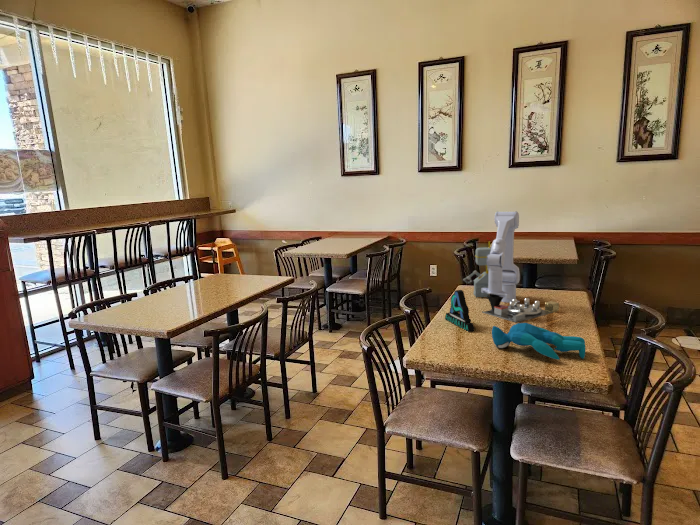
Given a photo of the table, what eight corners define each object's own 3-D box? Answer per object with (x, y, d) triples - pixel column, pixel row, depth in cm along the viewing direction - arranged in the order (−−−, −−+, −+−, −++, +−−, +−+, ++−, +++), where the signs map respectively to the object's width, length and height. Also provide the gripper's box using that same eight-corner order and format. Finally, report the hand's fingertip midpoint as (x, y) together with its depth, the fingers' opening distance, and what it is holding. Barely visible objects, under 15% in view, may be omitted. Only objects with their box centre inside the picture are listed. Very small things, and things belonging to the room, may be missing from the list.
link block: (544, 311, 203) (545, 302, 202) (550, 309, 205) (551, 300, 204) (552, 313, 199) (552, 304, 199) (558, 311, 201) (558, 302, 201)
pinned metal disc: (500, 310, 204) (500, 301, 203) (522, 304, 211) (522, 296, 210) (526, 317, 192) (526, 308, 191) (548, 311, 199) (549, 302, 198)
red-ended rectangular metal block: (494, 315, 198) (494, 306, 197) (500, 313, 200) (500, 304, 199) (501, 317, 194) (501, 308, 194) (508, 315, 196) (508, 306, 195)
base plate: (481, 314, 203) (481, 306, 202) (518, 305, 214) (518, 298, 213) (516, 324, 186) (516, 316, 186) (553, 314, 197) (553, 306, 197)
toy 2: (582, 350, 161) (494, 338, 173) (585, 321, 159) (495, 311, 171) (585, 371, 144) (486, 355, 156) (588, 339, 142) (488, 326, 154)
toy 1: (513, 293, 235) (513, 235, 230) (517, 297, 227) (518, 237, 222) (461, 294, 238) (461, 237, 233) (464, 298, 230) (463, 239, 224)
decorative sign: (474, 331, 181) (474, 295, 178) (468, 332, 180) (468, 295, 177) (450, 319, 199) (449, 285, 196) (444, 319, 198) (444, 286, 195)
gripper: (476, 279, 202) (476, 309, 204) (501, 285, 189) (501, 316, 192) (487, 277, 205) (487, 306, 207) (513, 282, 192) (513, 313, 195)
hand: (495, 311), depth 200 cm, fingers closed
